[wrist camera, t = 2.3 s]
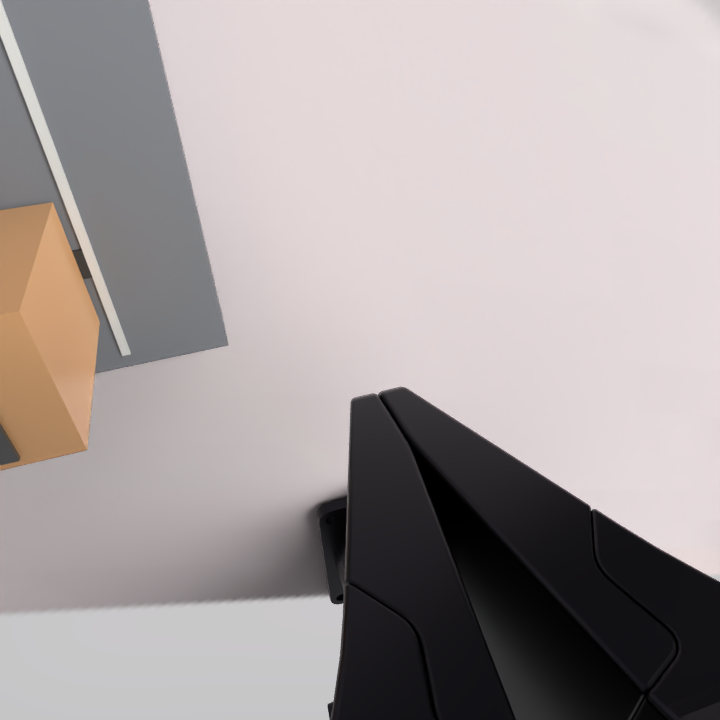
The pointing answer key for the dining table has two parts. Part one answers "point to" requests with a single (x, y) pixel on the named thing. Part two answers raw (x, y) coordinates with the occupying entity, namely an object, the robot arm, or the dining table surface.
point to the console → (108, 170)
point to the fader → (43, 340)
